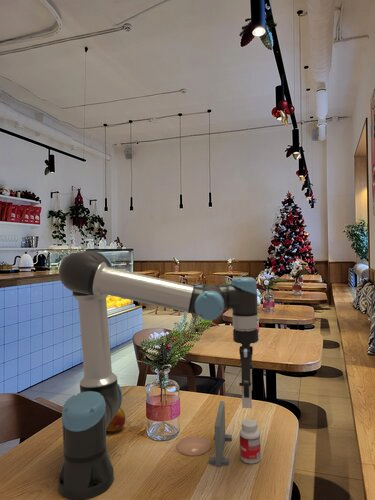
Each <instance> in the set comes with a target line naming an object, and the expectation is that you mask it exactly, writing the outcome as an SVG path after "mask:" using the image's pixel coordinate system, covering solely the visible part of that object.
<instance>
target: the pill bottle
mask: <svg viewBox="0 0 375 500" xmlns="http://www.w3.org/2000/svg"><path fill="white" fill-rule="evenodd" d="M261 455H262V454H261V433H260V429H258V422H257V421H256V420H255V419H243V420H242V421H241V428H240V430H239V457H240V460H241V461H242V462H244V463H246V464H257V463H259V462H260V460H261V458H262V457H261Z"/></svg>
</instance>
